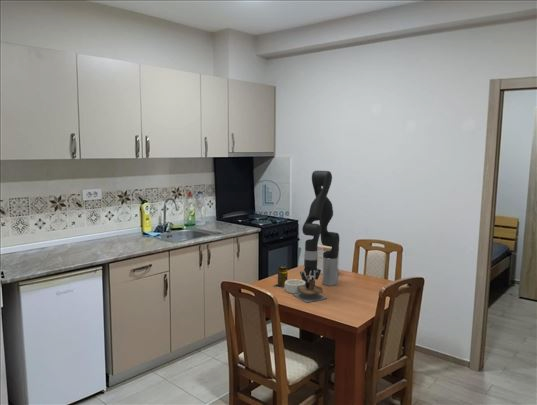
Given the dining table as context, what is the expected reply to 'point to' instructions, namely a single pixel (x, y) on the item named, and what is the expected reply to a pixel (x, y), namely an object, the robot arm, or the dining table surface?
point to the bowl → (293, 285)
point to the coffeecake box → (321, 250)
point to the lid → (310, 288)
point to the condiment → (281, 277)
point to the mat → (309, 297)
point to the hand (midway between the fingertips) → (310, 287)
